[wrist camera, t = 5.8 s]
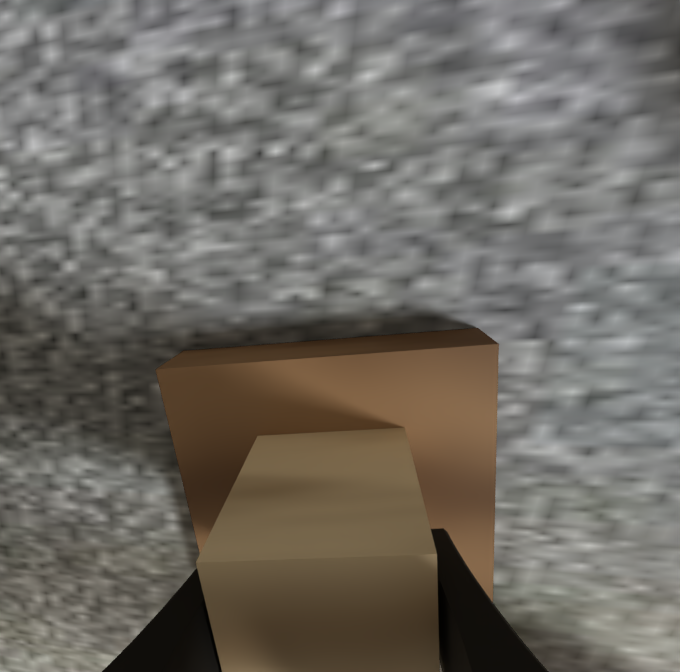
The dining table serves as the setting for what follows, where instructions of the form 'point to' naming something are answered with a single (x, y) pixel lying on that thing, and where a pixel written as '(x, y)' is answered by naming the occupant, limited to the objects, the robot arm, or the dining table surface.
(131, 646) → the robot arm
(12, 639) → the dining table surface
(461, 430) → the walnut stand
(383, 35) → the dining table surface
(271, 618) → the maple cube
